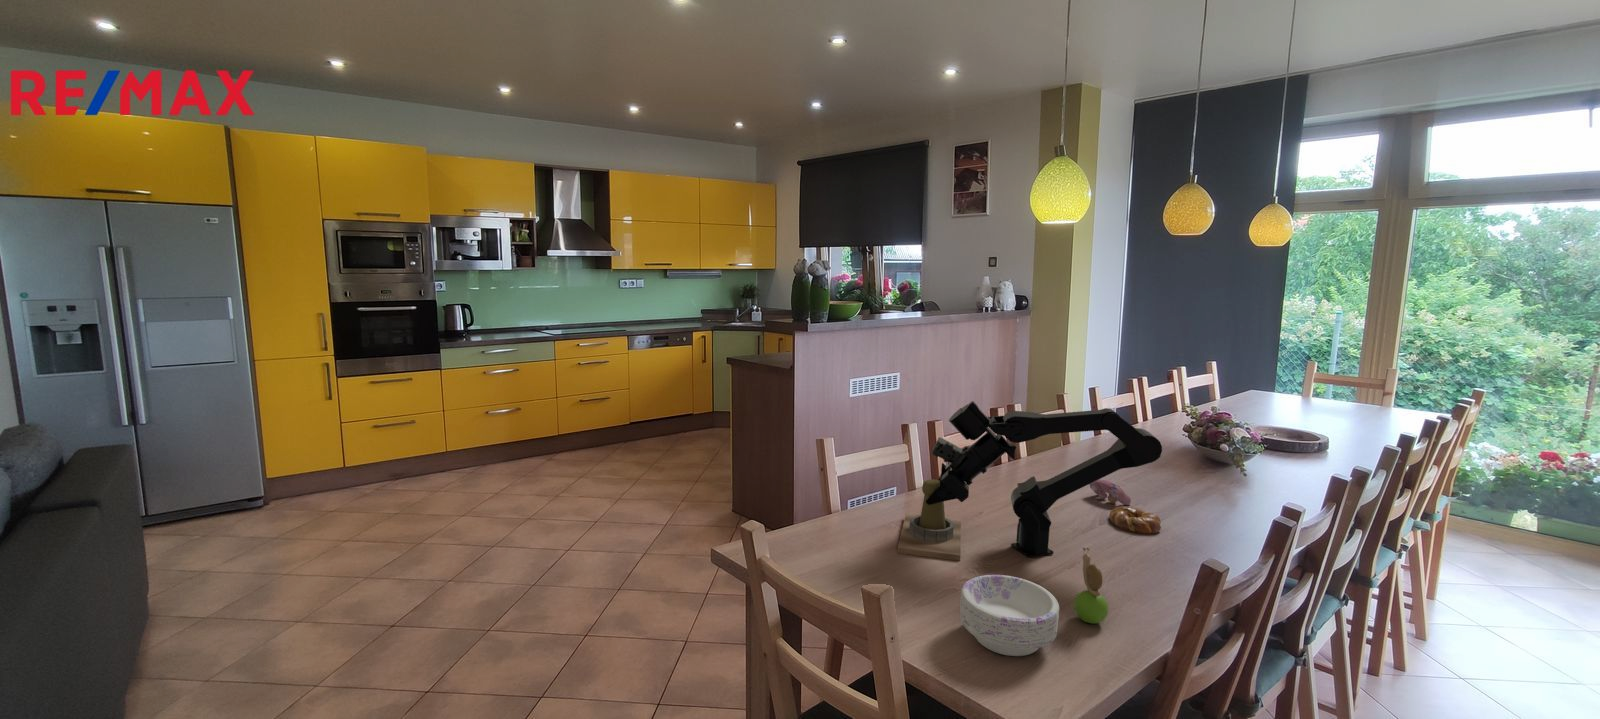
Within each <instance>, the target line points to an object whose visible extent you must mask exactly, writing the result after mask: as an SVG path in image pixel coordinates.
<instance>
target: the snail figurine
mask: <svg viewBox="0 0 1600 719" xmlns="http://www.w3.org/2000/svg"><path fill="white" fill-rule="evenodd" d="M1090 550H1091V549H1090V547H1083V548H1082V551H1083V552H1085V551H1087V552H1086V553H1083V555H1082V561H1083V563H1082V574H1083V581H1084V584H1085V587H1086V590H1082V591H1081V592H1079V593H1078V594H1077V595H1076V596H1075V599H1074V602H1073V606H1074V611H1075V613H1076V615H1077V617H1079V618H1080V620H1082V621H1083V622H1084V623H1085V622H1086V623H1088V624H1095V625H1096V624H1099V623H1101V622H1103V621H1105V619H1106V618H1107V617H1108V614H1109V605H1108V601H1107V600H1106V598H1105V597H1104V596H1103V595H1102V593H1101V592H1100V589H1101V588H1102V585H1103V573H1102V570H1101V568H1100V567H1099V566H1098V565H1097V564H1095V563H1091V560H1092V559H1091V556H1090V555H1089V551H1090Z"/></svg>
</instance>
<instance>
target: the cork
mask: <svg viewBox="0 0 1600 719" xmlns="http://www.w3.org/2000/svg"><path fill="white" fill-rule="evenodd" d="M939 484H940V480H937V479H934V478H932V479H931V478H930V479H929V478H928V479H926V480H925V481H924V482H923V483H922V487H921V489H922V490H921V491H922V492H923V495H924V496H923V502H922V506H921V512H920V515H921V517H920V523H919V527H922V528H925V529H932V530H940V529H946V523H945V518H946V516H945V515H946V512H945V504H944V502H945V501H943V502H939V503H935V504H931V505H928V504H927V503H926V500H927V498H928V497H929V496H930V495H931V494H932V492H933V491H934V490H935V489H936V488H937V487H938V486H939Z"/></svg>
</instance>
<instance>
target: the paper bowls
mask: <svg viewBox="0 0 1600 719" xmlns="http://www.w3.org/2000/svg"><path fill="white" fill-rule="evenodd" d="M960 590H961V591H960V605H959V606H960V608H959V610H960V611H959V620H960V622H961V623H962V626H963V627H964V628H965V630H967V631H968V632H969V633H970V634H971V635H972V636H974V638H975V639H976V640H977V642H978V643H979V644H980V645H981V646H983V647H985V648H986V649H988V650H990V651H992V652H994V653H997V654H999V655H1003V656H1010V657H1023V656H1028V655H1032V654H1034V653H1035V652H1037V651H1038V649H1040V648H1043V647H1045V646H1047V645H1049V644H1051V643H1052V642H1053V641H1054V640H1055V639H1056V638H1057V634H1058V625H1059V615H1060V604H1059V602H1058V600H1057V598H1056V597H1055V596H1054V595H1053V594H1052V593H1051V592H1050V591H1049V590H1047V589H1046V588H1045V587H1043V586H1041V585H1039V584H1037V583H1035V582H1033V581H1030V580H1028V579H1025V578H1020V577H1018V576H1017V577H1016V576H1012V575H1006V574H1005V575H1003V574H985V575H979V576H976V577H972V578H970V579H968V580H967V581H966V582H964V584H963V585H962V587H961V589H960Z"/></svg>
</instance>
